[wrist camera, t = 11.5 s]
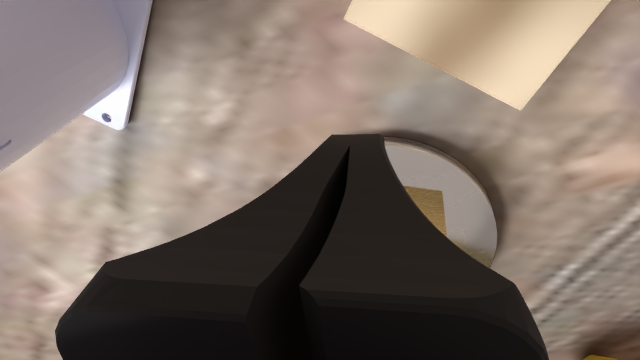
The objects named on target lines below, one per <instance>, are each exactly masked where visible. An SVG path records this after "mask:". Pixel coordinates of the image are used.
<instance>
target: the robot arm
mask: <svg viewBox="0 0 640 360" xmlns="http://www.w3.org/2000/svg"><path fill="white" fill-rule="evenodd" d="M152 1H153V0H0V172H1V171H2V170H4V169H5V168H6V167H8V166H9V165H11V164H12V163H14V162H15V161H16V160H18V159H19V158H21V157H22V156H23V155H25V154H26V153H28V152H29V151H31V150H32V149H33V148H35V147H36V146H38V145H39V144H40V143H42V142H43V141H45V140H46V139H48V138H49V137H50V136H52V135H53V134H55V133H56V132H57V131H59V130H60V129H62V128H63V127H64V126H66V125H67V124H69V123H70V122H72V121H73V120H74V119H76V118H77V117H79V116H80V115H81V114H83V115H85V116H87V117H90V118H92V119H94V120H96V121H98V122H100V123H103V124H105V125H107V126H109V127H111V128H113V129H116V130H122V129H123V128H125V127H126V126H127V124H128V121H129V116H130V111H131V106H132V101H133V96H134V91H135V86H136V81H137V76H138V71H139V66H140V61H141V56H142V51H143V46H144V41H145V36H146V31H147V26H148V21H149V16H150V11H151V6H152ZM106 114H108V115H110V117H111V119H110V118H108V117H107V115H106ZM55 334H56V343H57V347H58V350H59V352H60V354H61V356H62V358H63V360H549V358H548V354H547V350H546V347H545V344H544V342H543V339H542V337H541V334H540V332H539V330H538V327H537V325H536V323H535V321H534V319H533V317H532V315H531V312H530V310H529V308H528V306H527V305H526V303H525V301H524V299H523V297H522V295H521V293H520V292H519V290H518V288H517V286H516V285H515V284H514V283H513V282H511V281H510V280H508V279H506V278H505V277H503V276H501V275H500V274H498V273H496V272H495V271H493V270H492V269H490V268H488V267H487V266H485V265H483V264H482V263H480V262H478V261H477V260H475V259H474V258H472V257H471V256H470V255H468V254H467V253H466V252H464V251H463V250H462V249H460V248H459V247H458V246H456V245H455V244H454V243H453V242H452V241H451V240H450V239H448V238H447V237H446V236H445V235H444V234H443V233H442V232H441V231H439V230H438V229H437V228H436V227H435V226H434V225H433V223H432V222H431V221H430V220H429V219H428V218H427V217H426V216H425V215H424V214H423V212H422V211H421V210H420V209H419V208H418V206H417V205H416V204H415V202H414V201H413V200H412V198H411V197H410V196H409V194H408V193H407V191H406V190H405V188H404V186H403V185H402V183H401V182H400V180H399V178H398V176H397V174H396V173H395V171H394V169H393V167H392V165H391V162H390V160H389V158H388V155H387V152H386V149H385V139H384V138H383V137H382V136H381V135H380V134H357V135H331V136H330V137H329V138H328V139H327V140H326V141H324V142H323V143H322V144H321V145H320V146H319V147H318V148H317V149H316V150H315V151H314V152H313V153H312V154H311V155H310V156H309V157H308V158H307V159H306V160H304V161H303V162H302V163H301V164H300V165H299V166H298V167H297V168H296V169H294V170H293V171H292V172H291V173H289V174H288V175H287V176H286V177H284V178H283V179H282V180H281V181H279V182H278V183H277V184H276V185H274V186H273V187H272V188H271V189H269V190H268V191H266V192H265V193H263V194H262V195H261V196H259V197H258V198H256V199H254V200H253V201H251V202H250V203H248V204H247V205H245V206H243V207H242V208H240V209H238V210H236V211H234V212H233V213H231V214H229V215H227V216H225V217H223V218H221V219H219V220H217V221H215V222H213V223H211V224H209V225H208V226H205V227H203V228H201V229H199V230H196V231H194V232H192V233H190V234H187V235H185V236H182V237H180V238H177V239H175V240H172V241H170V242H167V243H164V244H162V245H159V246H156V247H153V248H150V249H147V250H144V251H141V252H138V253H134V254H131V255H128V256H125V257H122V258H119V259H115V260H112V261H108V262H106V263H105V264H104V265H103V266H102V267H101V269H100V270H99V271H98V272H97V274H96V275H95V276H94V277H93V279H92V280H91V281H90V282H89V284H88V285H87V286H86V287H85V289H84V290H83V291H82V292H81V293H80V295H79V296H78V297H77V298H76V300H75V301H74V302H73V303H72V305H71V306H70V307H69V308H68V310H67V311H66V312H65V313H64V315H63V316H62V317H61V318H60V320H59V323H58V325H57V328H56V330H55Z"/></svg>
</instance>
